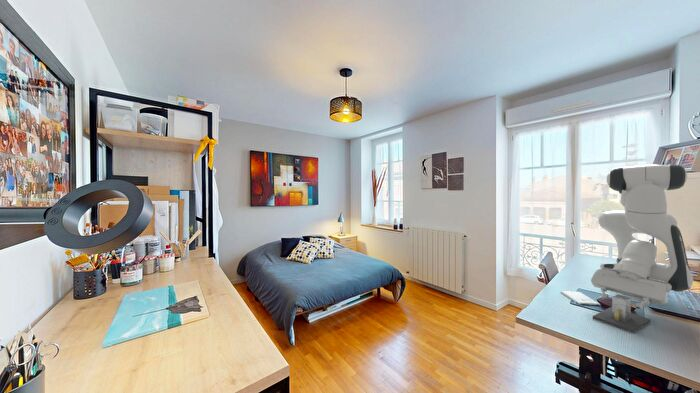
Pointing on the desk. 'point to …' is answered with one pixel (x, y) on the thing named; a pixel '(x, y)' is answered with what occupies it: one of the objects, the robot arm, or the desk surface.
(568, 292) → the external hard drive
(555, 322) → the desk surface
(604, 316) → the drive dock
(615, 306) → the clear tall piece
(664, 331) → the desk surface
